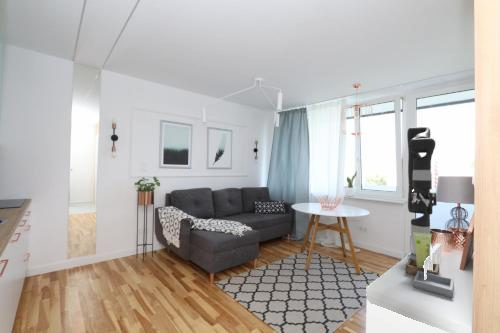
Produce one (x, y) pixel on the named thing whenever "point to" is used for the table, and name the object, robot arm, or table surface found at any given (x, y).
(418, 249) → the tube
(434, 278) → the tray
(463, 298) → the table surface
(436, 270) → the wooden picture frame
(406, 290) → the table surface
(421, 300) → the table surface
